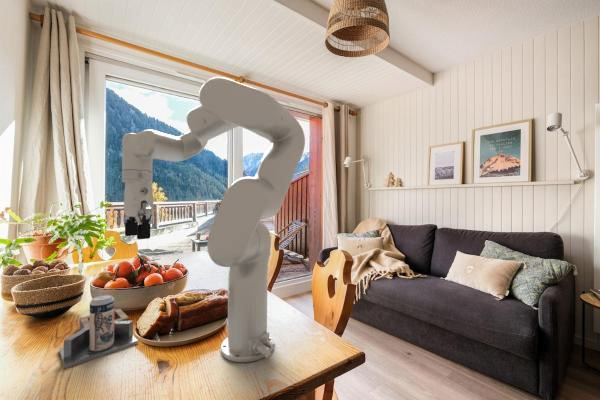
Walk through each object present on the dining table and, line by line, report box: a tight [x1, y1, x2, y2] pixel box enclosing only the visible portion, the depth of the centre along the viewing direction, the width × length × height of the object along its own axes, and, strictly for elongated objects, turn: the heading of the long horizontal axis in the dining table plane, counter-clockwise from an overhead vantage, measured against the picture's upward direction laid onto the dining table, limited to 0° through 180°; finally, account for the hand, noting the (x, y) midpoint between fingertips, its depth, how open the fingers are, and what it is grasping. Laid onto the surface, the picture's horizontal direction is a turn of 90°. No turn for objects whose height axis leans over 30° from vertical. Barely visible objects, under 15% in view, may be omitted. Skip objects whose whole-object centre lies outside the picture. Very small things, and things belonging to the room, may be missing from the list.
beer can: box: [89, 294, 115, 351], centre depth 65 cm, size 5×5×12 cm
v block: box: [58, 320, 139, 370], centre depth 66 cm, size 10×14×5 cm
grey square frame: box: [78, 308, 130, 331], centre depth 75 cm, size 10×10×3 cm
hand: (137, 237), depth 77 cm, fingers open, 9 cm apart
